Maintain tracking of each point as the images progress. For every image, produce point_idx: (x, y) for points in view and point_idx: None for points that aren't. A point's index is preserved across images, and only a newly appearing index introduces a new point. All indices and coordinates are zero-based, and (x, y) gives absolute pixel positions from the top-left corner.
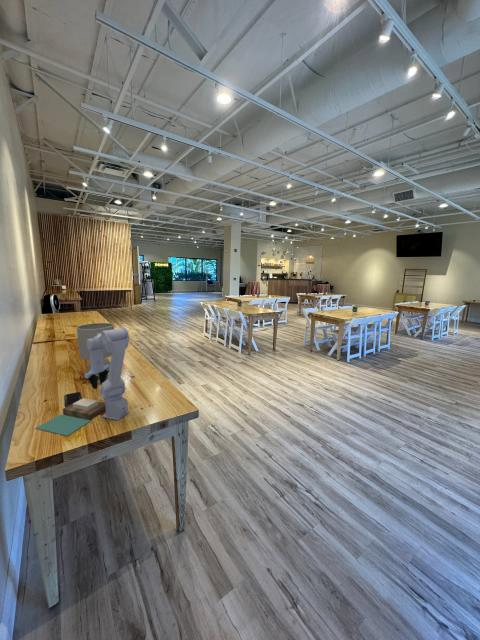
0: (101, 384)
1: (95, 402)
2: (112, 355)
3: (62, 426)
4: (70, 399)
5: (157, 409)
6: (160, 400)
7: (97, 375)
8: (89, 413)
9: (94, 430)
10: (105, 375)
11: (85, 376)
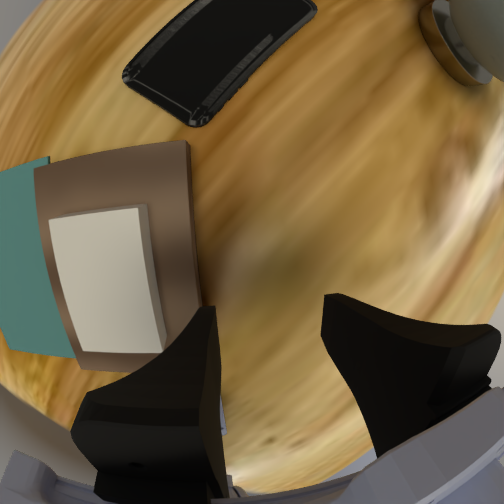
0: (324, 304)
1: (144, 350)
2: None
3: (8, 282)
4: (207, 25)
5: (279, 465)
6: (341, 439)
7: (465, 35)
8: (83, 364)
9: (75, 403)
10: (376, 433)
11: (20, 486)
